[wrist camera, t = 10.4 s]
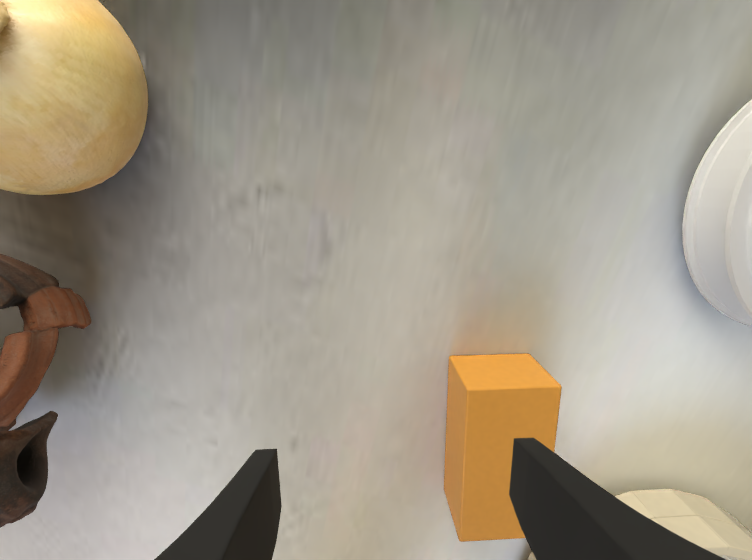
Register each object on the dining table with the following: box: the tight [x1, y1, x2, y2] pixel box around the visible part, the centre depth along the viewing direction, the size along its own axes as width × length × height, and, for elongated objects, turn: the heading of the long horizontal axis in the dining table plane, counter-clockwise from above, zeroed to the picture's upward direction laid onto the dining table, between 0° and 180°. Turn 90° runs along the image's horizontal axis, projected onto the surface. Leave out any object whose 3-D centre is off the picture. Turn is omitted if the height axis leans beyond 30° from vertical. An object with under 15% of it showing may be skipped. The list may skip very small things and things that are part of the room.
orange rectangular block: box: [444, 353, 561, 542], centre depth 21 cm, size 8×4×4 cm, turn 1°
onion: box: [0, 0, 148, 195], centre depth 14 cm, size 8×8×7 cm
